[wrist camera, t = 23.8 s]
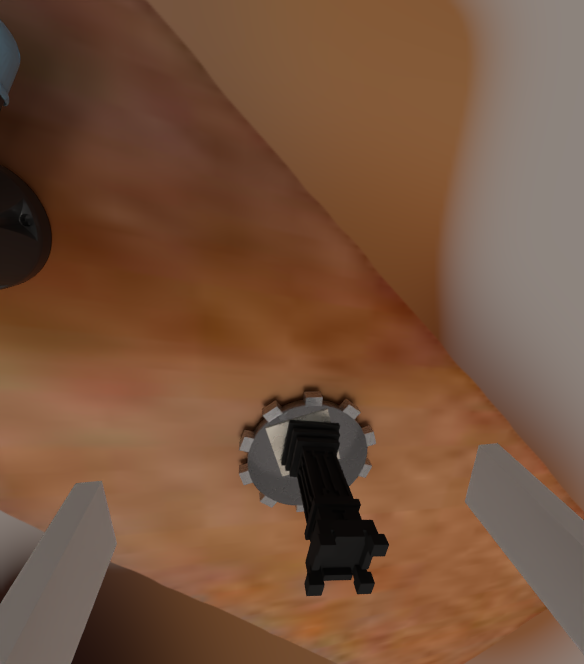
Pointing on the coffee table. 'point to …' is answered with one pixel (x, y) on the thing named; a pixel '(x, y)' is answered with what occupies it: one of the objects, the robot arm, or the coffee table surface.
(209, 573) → the coffee table surface
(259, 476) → the sprocket
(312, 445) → the chess piece
